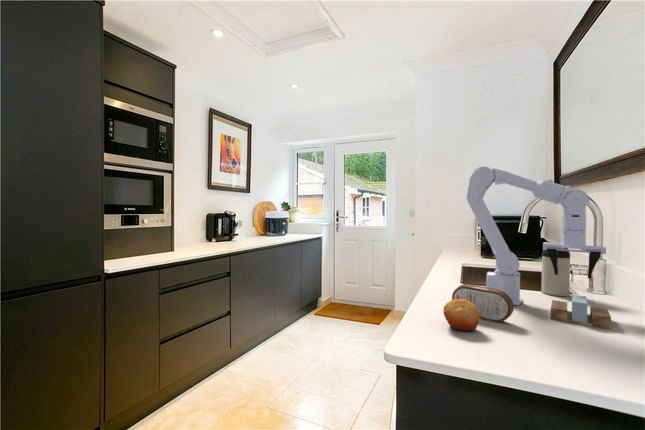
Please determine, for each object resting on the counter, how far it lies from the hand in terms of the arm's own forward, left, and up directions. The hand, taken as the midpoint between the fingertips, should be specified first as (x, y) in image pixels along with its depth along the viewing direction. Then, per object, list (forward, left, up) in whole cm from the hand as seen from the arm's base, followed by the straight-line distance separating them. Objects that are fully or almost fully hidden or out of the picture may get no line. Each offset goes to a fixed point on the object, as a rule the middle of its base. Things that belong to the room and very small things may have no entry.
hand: (572, 276), depth 94 cm
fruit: (-21, -38, -10) cm, 44 cm away
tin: (-19, -26, -10) cm, 34 cm away
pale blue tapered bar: (+2, -10, -9) cm, 14 cm away
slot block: (+2, -10, -10) cm, 14 cm away
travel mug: (-4, +19, -10) cm, 22 cm away
